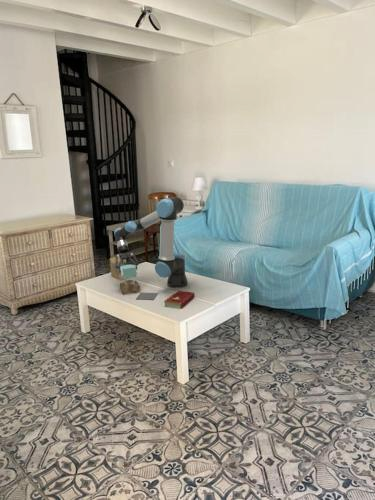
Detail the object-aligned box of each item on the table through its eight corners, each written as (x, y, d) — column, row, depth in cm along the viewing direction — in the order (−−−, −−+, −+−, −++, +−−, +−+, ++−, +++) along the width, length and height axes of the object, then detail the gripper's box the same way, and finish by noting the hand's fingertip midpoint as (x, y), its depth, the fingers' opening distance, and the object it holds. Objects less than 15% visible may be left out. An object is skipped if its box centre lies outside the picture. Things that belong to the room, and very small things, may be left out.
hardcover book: (194, 298, 265) (194, 292, 264) (181, 309, 247) (180, 303, 246) (178, 295, 270) (178, 289, 269) (163, 306, 252) (163, 300, 251)
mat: (157, 293, 274) (157, 293, 274) (153, 300, 263) (153, 299, 262) (140, 293, 276) (140, 292, 276) (135, 299, 265) (135, 298, 264)
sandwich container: (120, 280, 304) (119, 261, 300) (110, 276, 315) (109, 258, 311) (130, 278, 309) (129, 259, 305) (120, 274, 320) (118, 256, 317)
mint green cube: (133, 273, 284) (132, 264, 283) (136, 276, 276) (135, 267, 274) (121, 275, 281) (120, 265, 280) (123, 278, 273) (122, 269, 271)
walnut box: (136, 287, 288) (135, 277, 287) (140, 292, 278) (139, 282, 277) (120, 289, 284) (119, 280, 283) (123, 294, 274) (122, 284, 273)
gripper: (137, 248, 293) (144, 275, 282) (107, 252, 286) (113, 279, 275) (138, 243, 287) (145, 270, 276) (108, 246, 279) (114, 274, 269)
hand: (129, 274), depth 275 cm, fingers closed on mint green cube, 9 cm apart
